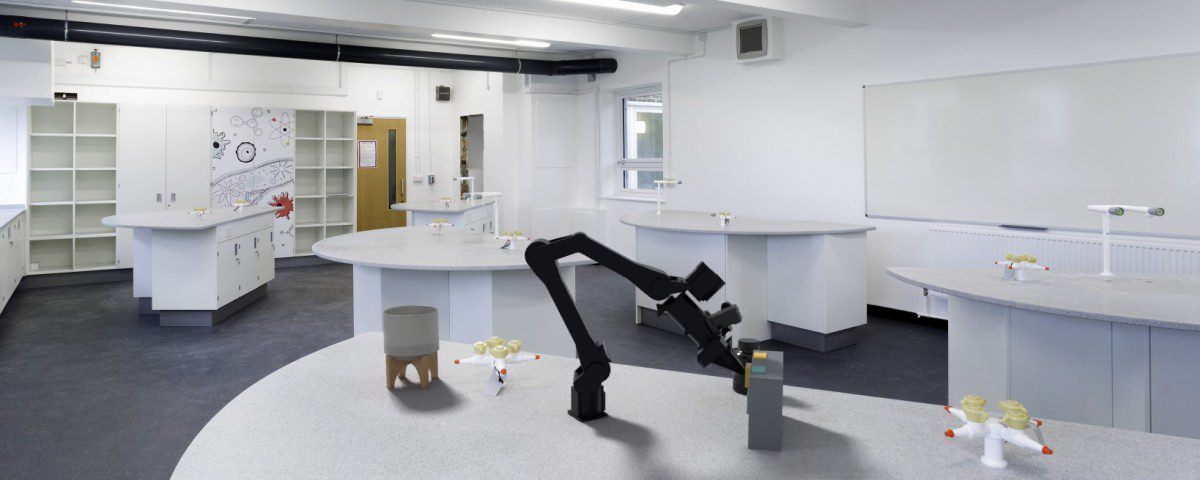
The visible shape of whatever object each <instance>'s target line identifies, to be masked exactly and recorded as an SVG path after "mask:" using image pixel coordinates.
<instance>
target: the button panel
mask: <svg viewBox="0 0 1200 480" xmlns="http://www.w3.org/2000/svg"><path fill="white" fill-rule="evenodd" d="M783 397H784V351H775V350H774V351H773V350H760V349H758V350H754V351H753V357H752V364H751V370H750V376H749V414H748V421H747V422H748V429H747V430H748V431H747V432H748V433H747V449H750V450H760V451H761V450H762V451H772V452H782V444H783V443H782V440H783V438H782V436H783V405H784V402H783V399H784V398H783Z"/></svg>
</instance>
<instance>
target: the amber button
mask: <svg viewBox="0 0 1200 480" xmlns="http://www.w3.org/2000/svg"><path fill="white" fill-rule="evenodd" d="M751 364H752V363H746V368H745V387H747V388H748V387H749V376H750V370H751Z"/></svg>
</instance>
